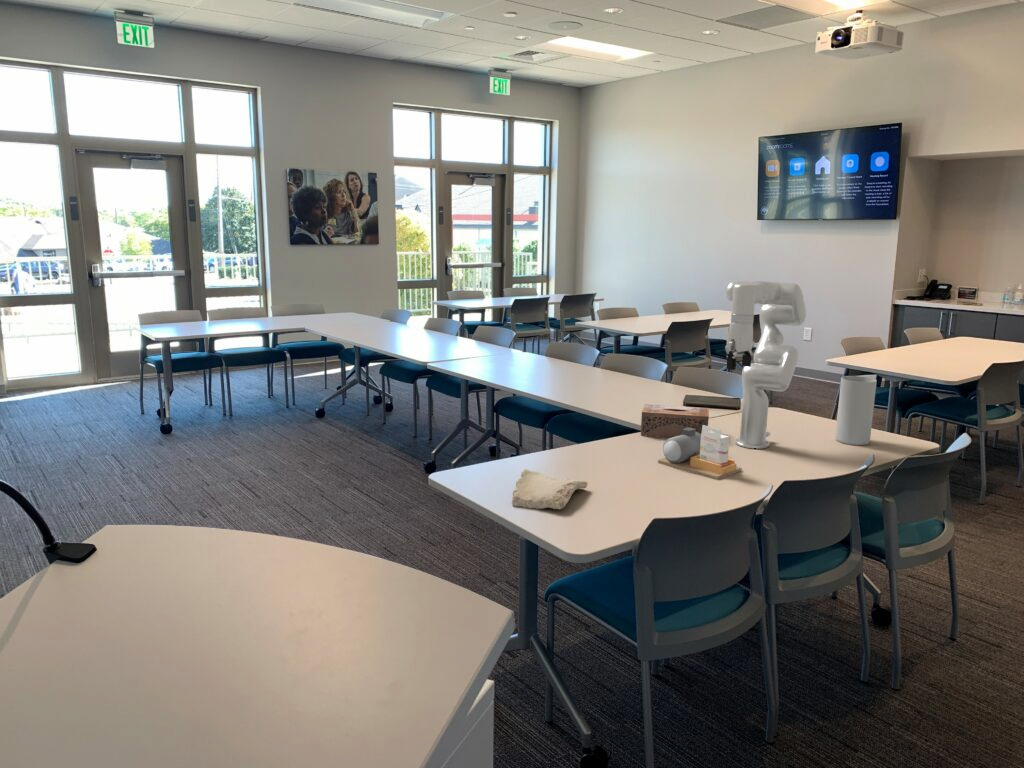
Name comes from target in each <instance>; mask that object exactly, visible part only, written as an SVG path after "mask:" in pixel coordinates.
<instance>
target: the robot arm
mask: <svg viewBox="0 0 1024 768" xmlns="http://www.w3.org/2000/svg"><path fill="white" fill-rule="evenodd" d="M725 291H726V292H725V294H726V298H727V299H728V301H729V302H730V303H731V315H730V324H729V327H728V330H727V336H726V337H727V339H726V345H725V346H724V348H725V349H724V350H725V355H726V369H727V370H731V371H734V370H736V368H737V367H736V366H737V355H738V353H743V354H742V355H741V357H742V359H741V360H742V361H741V366H743V368H742V371H741V381H742V383H741V385H742V400H741V401H742V402H741V414H740V415H741V416H740V431H739V437H738V438H736V439H735V441H734V443H735V445H737V446H739V447H742V448H746V449H747V448H748V449H754V448H756V449H755V450H759V449H761V450H762V449H766V448H769V447H770V442H769V441H768V440H766V438H767V437H770V436H771V432H770V431H767V425H768V417H769V416H768V413H769V404H770V402H769V398H768V395H767V393H766V392H765V391H773V392H785V391H786V390H788V388H789V386H790V384H791V381H792V379H793V375H794V373H795V371H796V367H797V365H798V359H799V353H798V350H797V348H796V347H795V346H793V345H790V344H783V343H784V340H785V339H784V335H783V333H782V331H781V330H780V329H779V328H778V327H777V326H776V325H778V326H779V325H780V326H792V327H798V326H802V324H804V322H806V316H807V310H806V304H805V299H804V295H803V292H802V289H801V287H800V286H799V284H797V283H794V282H779V281H777V282H776V281H766V280H765V281H764V280H763V281H761V280H759V281H744V280H743V281H742V280H741V281H739V280H733V281H730V283H729V284H728V285H727V288H726V290H725ZM755 305H761V307H760V309H759V328H760V333H761V334H760V338H759V341H758V344H757V346H756V348H755V344H756V341H754V326H753V324H754V318H755ZM754 348H755V349H754ZM754 350H755V351H754ZM753 351H754V352H753ZM753 353H754V354H753ZM752 356H753V362H752Z"/></svg>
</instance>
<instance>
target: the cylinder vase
mask: <svg viewBox="0 0 1024 768" xmlns="http://www.w3.org/2000/svg"><path fill="white" fill-rule="evenodd" d="M876 390H877V379H875V378H872V377H867V376H860V375H859V376H857V375H846V376H841V378H840V385H839V399H838V405H837V407H838V408H837V416H836V427H835V435H834V436H835V437H834V438H835V440H836V441H837V442H839V443H842V444H846V445H851V446H866V445H868V444H870V442H871V436H872V428H873V427H872V426H873V417H874V408H875V407H874V406H875V401H876V399H875V398H876Z"/></svg>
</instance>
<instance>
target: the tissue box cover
mask: <svg viewBox="0 0 1024 768" xmlns="http://www.w3.org/2000/svg"><path fill="white" fill-rule="evenodd" d="M709 414H710V409H709V407H694V406H693V407H691V406H679V405H663V404H662V405H661V404H651V403H650V404H647V403H644V406H643V408H642V411H641V418H640V421H641V422H640V436H641V435H647V436H646V437H652V436H659V437H658V438H665V437H669V438H672V437H676V436H679V435H682V429H685V428H688V427H689V428H694V429H696V432H698V433H700V434H701V433H702V426H703V425H706V426H709V420H710V419H709V418H710V415H709ZM669 438H668V439H669Z"/></svg>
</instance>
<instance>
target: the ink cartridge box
mask: <svg viewBox="0 0 1024 768" xmlns="http://www.w3.org/2000/svg"><path fill="white" fill-rule="evenodd" d="M729 445H730V436H728V435H724V434H722V429H720V428H717V427H713V426H709V425H708V426H706V425H703V426H702V433H701V444H700V459H701V460H705V461H709V462H713V463H716V464H720V465H722V468H723V467H726V466H727V464H728V459H729Z"/></svg>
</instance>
